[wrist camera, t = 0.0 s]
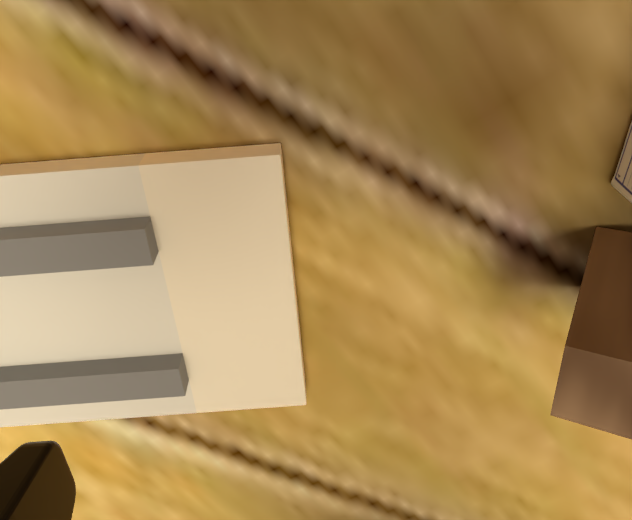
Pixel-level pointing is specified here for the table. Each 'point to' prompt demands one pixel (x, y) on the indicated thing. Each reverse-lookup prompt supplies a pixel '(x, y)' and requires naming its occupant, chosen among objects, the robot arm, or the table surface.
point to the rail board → (147, 286)
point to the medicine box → (625, 169)
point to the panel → (600, 341)
